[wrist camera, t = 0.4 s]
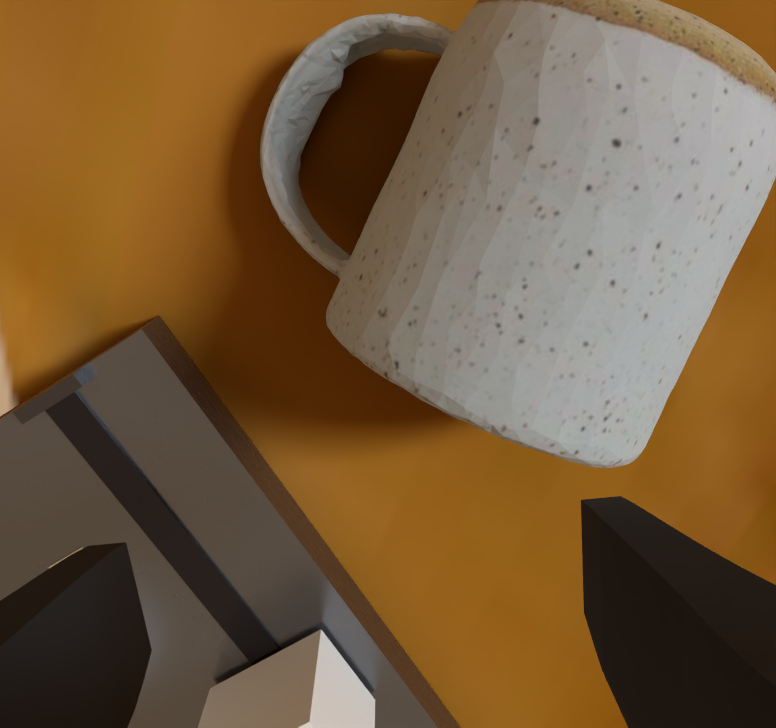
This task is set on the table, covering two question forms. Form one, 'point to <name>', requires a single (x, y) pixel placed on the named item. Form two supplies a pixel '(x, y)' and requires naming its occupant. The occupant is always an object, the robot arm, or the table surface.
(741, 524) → the table surface
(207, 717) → the fader
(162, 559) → the console
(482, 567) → the table surface
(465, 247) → the ceramic mug
